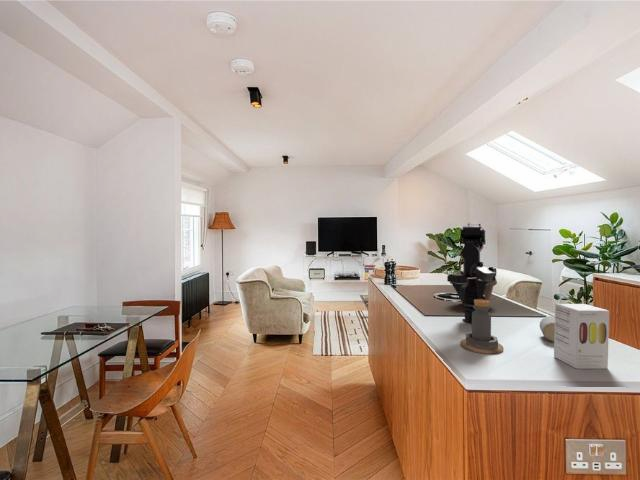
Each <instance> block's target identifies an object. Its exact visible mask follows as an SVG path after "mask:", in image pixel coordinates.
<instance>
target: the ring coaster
mask: <svg viewBox="0 0 640 480" xmlns="http://www.w3.org/2000/svg"><path fill="white" fill-rule="evenodd" d="M460 346H461V347H462V348H463V349H465V350H466V351H469V352H472V353H473V352H474V353H476V354H484V355H497V354H498V355H499V354H501V353H502V352H504V346H503V345H502V344H500V343H499V341H498V337H497V336H494V335H492V334H491V341H480V340H475V339H473V338H472V332H469V333H466V334H465V338H464V339H461V340H460Z"/></svg>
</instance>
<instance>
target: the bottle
mask: <svg viewBox="0 0 640 480" xmlns="http://www.w3.org/2000/svg"><path fill="white" fill-rule="evenodd" d="M474 304H475V305H473V308H474V309H475V311H473V312H472V323H471V333H472V338H473V339H475V340H480V341H491V335H492V314H491V313H490V312H489V311H490V309H491V306H490V302H489V301H488V300H484V299H475V300H474ZM488 305H489V306H488Z"/></svg>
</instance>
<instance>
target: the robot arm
mask: <svg viewBox="0 0 640 480" xmlns="http://www.w3.org/2000/svg"><path fill="white" fill-rule="evenodd" d="M481 224H482V223H481V222H468V223H467V225H463V226H462V228H460V233H459V235H460V238H459V244H460V245H462V244H463V248H462V249H461V252H460V253H461V257H462V258H463V260H461V261H460V264H461V265H463V266H462V269H463V270H462V271H463V272H461V274H457V273H449V274H448V275H447V279H446V281H447V282H449V284H450V285H452V287H453V288H454V290H455V292H456V294H457V296H458V298H459V300H460V302H461V301H463V305H462V308H464V309H465V310H464V318H462V321H463V322H466V323H470V324H472V312H473V311H475V309H474V308H473V305H475V304H474V300H475V299H484V300H486V298H485V297H484V292H485V290H486V287H487V286H488V285H489V284H490V283H492V282H493V281H494V280H495V278H496V277H497V273H498V272H497V267H495V266H489V267H485V266H484V263H483V261H481V252H482V250H483V249H484V244H486V230H485V229H484V228H483V227H482V226H481ZM468 277H469V278H468ZM467 280H469V284H468V285H467V284H466V281H467ZM466 285H467V286H466ZM465 286H466V287H465ZM464 288H465V290H464ZM465 303H466V304H465Z"/></svg>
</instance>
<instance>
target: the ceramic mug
mask: <svg viewBox="0 0 640 480" xmlns="http://www.w3.org/2000/svg"><path fill="white" fill-rule="evenodd" d="M539 329H540V331H541V333H542V335H543V337H544V338H545V339H547V340H548V341H550V342H552V343H554V336H555V316H554V315H553V316H552V315H548V316H544V317H543V318H541V320H540V322H539Z"/></svg>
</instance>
